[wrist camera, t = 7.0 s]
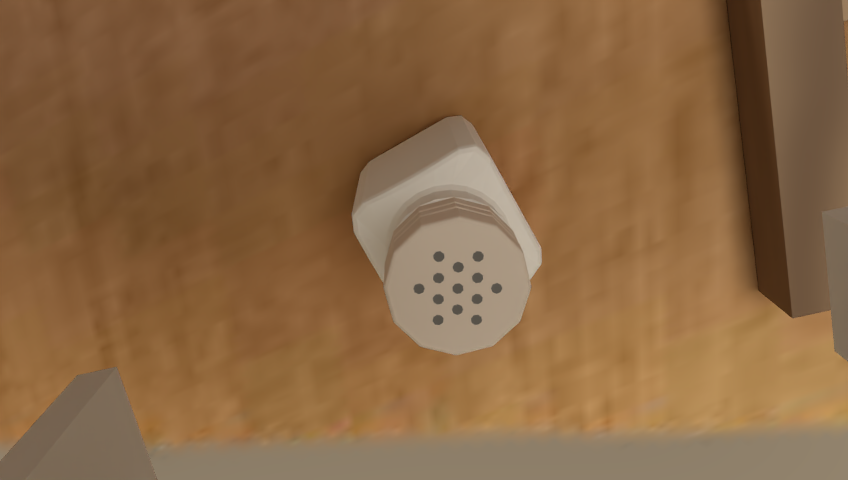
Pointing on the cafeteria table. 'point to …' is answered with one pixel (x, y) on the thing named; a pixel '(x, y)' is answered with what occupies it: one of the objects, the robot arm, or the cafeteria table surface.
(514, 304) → the pepper shaker
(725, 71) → the cafeteria table surface
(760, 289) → the board
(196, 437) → the cafeteria table surface
